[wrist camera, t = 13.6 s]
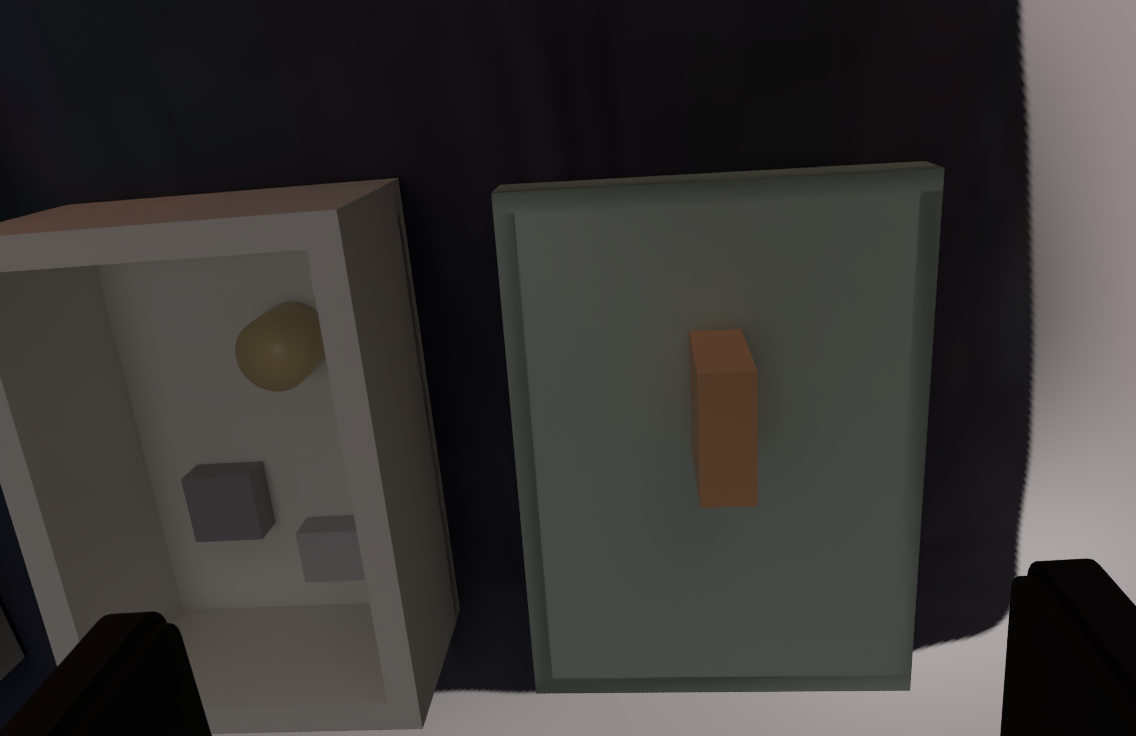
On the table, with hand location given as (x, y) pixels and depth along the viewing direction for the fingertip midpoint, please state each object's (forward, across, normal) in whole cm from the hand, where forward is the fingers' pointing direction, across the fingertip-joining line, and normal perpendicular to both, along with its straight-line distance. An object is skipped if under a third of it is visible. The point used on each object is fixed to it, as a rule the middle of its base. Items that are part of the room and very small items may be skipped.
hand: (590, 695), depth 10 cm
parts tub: (+28, +16, +8) cm, 33 cm away
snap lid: (+27, -3, +10) cm, 29 cm away
